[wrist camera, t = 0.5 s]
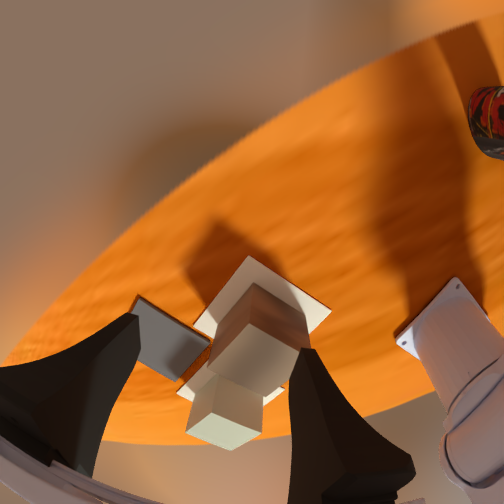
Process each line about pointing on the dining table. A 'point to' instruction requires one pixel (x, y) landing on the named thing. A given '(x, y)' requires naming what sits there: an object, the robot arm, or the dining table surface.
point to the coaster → (166, 341)
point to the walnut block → (258, 341)
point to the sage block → (225, 414)
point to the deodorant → (488, 120)
